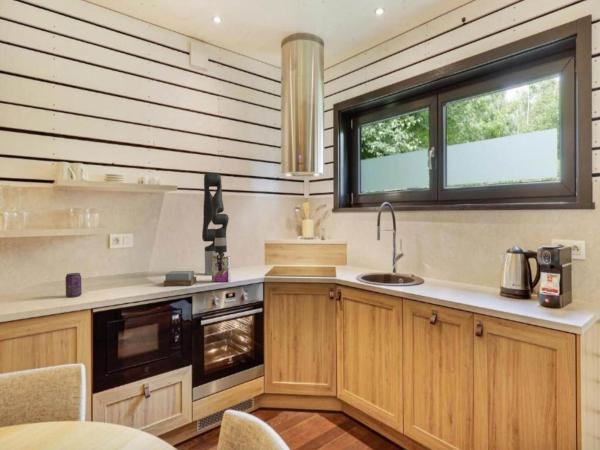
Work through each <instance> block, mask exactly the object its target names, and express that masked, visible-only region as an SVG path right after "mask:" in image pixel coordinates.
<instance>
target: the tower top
mask: <svg viewBox="0 0 600 450" xmlns="http://www.w3.org/2000/svg"><path fill="white" fill-rule="evenodd" d="M193 277H195V270H173V271H172V270H171V271H169V272H167V273H165V280H190V279H192V278H193Z"/></svg>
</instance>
